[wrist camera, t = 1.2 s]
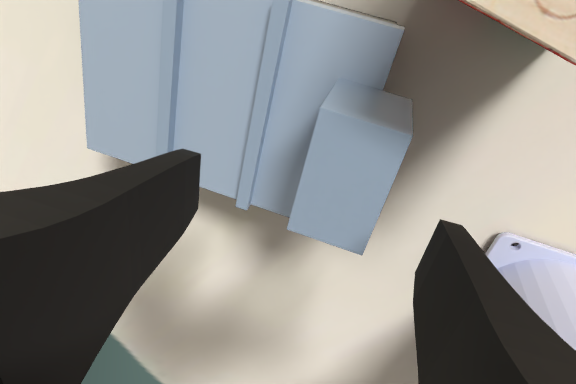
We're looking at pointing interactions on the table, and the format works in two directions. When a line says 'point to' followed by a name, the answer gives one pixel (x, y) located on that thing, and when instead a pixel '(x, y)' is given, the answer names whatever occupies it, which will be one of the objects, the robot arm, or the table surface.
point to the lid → (253, 103)
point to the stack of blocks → (536, 21)
